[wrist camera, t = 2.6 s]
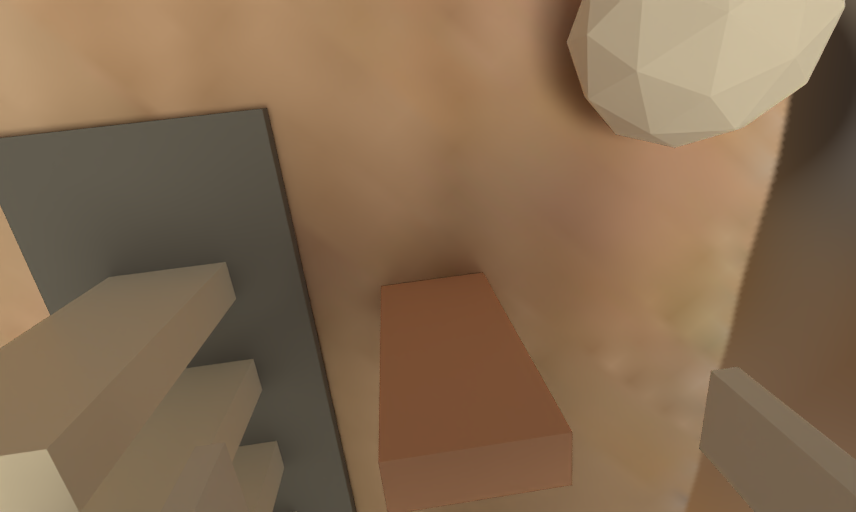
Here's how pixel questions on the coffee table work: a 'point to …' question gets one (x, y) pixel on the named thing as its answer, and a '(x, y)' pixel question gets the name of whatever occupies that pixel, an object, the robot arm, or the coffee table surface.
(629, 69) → the geometric ball
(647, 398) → the coffee table surface
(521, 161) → the coffee table surface
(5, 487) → the domino
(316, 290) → the coffee table surface
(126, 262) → the mat
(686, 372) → the coffee table surface
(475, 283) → the domino
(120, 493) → the domino
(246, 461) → the domino
